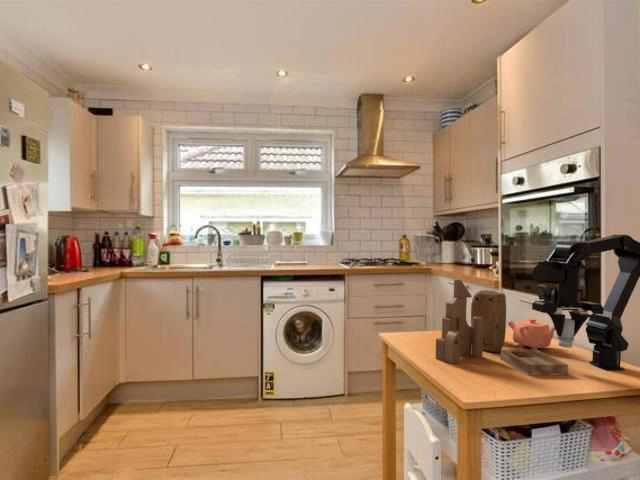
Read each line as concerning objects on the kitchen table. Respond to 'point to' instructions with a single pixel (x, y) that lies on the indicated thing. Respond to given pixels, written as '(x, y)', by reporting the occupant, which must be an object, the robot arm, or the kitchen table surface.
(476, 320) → the wooden toy
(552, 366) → the board
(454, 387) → the kitchen table surface
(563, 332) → the peg
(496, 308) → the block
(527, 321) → the teapot
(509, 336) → the kitchen table surface
